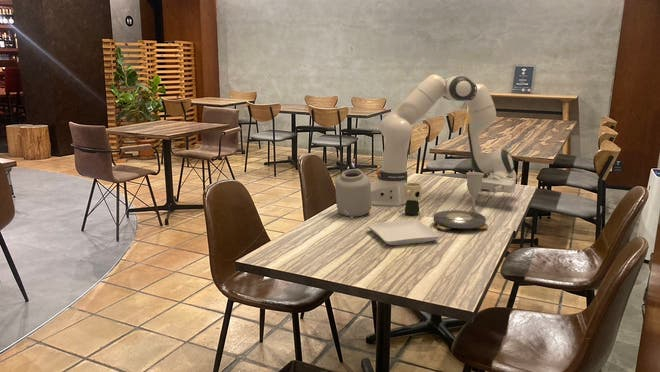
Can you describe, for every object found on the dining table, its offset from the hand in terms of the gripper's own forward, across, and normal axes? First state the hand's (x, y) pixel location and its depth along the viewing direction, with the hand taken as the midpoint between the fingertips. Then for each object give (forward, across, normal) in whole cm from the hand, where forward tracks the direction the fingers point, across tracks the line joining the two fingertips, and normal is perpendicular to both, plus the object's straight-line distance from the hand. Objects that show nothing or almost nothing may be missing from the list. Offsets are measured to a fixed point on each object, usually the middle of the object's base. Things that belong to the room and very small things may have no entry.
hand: (484, 187), depth 239 cm
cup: (-36, -14, +10) cm, 40 cm away
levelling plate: (+28, +2, +10) cm, 30 cm away
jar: (+41, -40, +10) cm, 58 cm away
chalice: (+11, 0, +10) cm, 15 cm away
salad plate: (+53, -8, +11) cm, 55 cm away
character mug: (+24, -21, +10) cm, 34 cm away
